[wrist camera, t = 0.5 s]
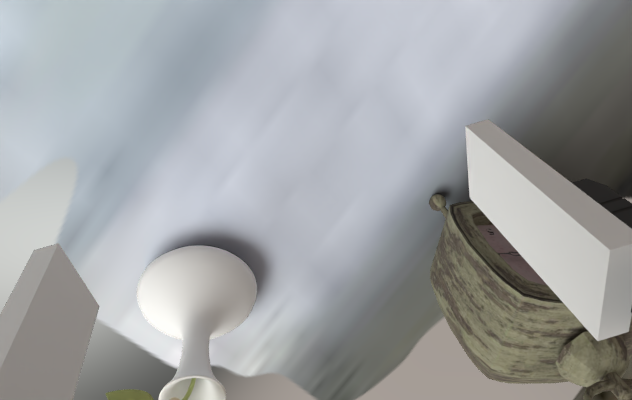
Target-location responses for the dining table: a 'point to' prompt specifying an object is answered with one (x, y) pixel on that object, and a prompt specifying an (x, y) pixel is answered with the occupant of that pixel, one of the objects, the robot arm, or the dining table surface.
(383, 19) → the dining table surface
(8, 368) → the robot arm
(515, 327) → the tabletop clock
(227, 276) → the flower in vase
